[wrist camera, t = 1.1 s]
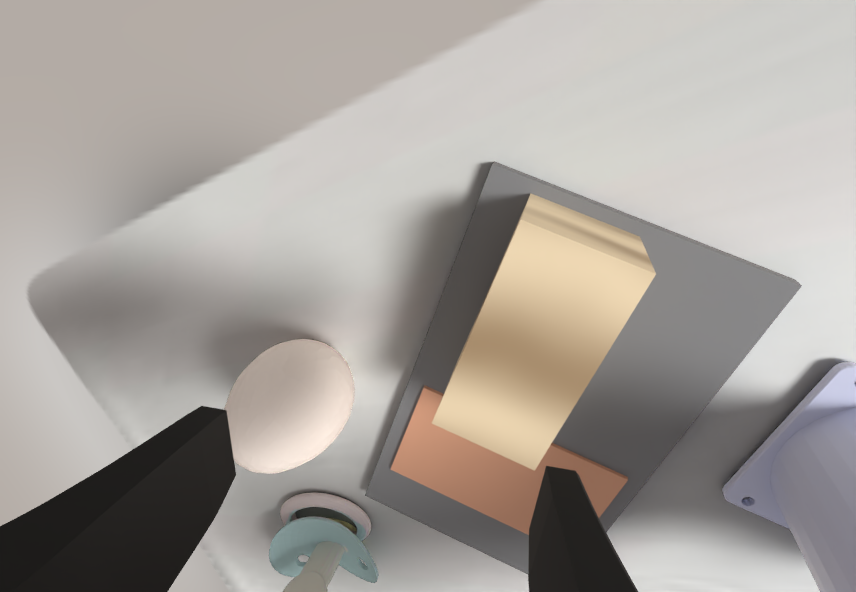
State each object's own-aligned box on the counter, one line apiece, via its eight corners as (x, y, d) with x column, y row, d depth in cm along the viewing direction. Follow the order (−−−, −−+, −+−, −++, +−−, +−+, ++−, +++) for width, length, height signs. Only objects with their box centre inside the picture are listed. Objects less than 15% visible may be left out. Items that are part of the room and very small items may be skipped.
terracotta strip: (627, 476, 22) (627, 479, 22) (570, 551, 25) (570, 555, 25) (424, 385, 23) (423, 387, 23) (391, 466, 26) (390, 469, 26)
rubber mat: (794, 279, 18) (801, 285, 17) (560, 580, 27) (560, 590, 26) (494, 161, 19) (492, 163, 18) (368, 487, 28) (364, 495, 28)
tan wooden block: (530, 193, 18) (520, 219, 15) (640, 236, 18) (656, 274, 14) (453, 370, 23) (431, 423, 19) (540, 409, 22) (534, 470, 19)
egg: (378, 409, 26) (312, 519, 19) (291, 397, 27) (202, 496, 21) (369, 321, 24) (291, 411, 17) (275, 313, 25) (170, 393, 19)
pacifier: (270, 485, 31) (300, 555, 33) (203, 569, 26) (244, 648, 27) (370, 485, 29) (397, 561, 30) (321, 578, 23) (357, 664, 25)
